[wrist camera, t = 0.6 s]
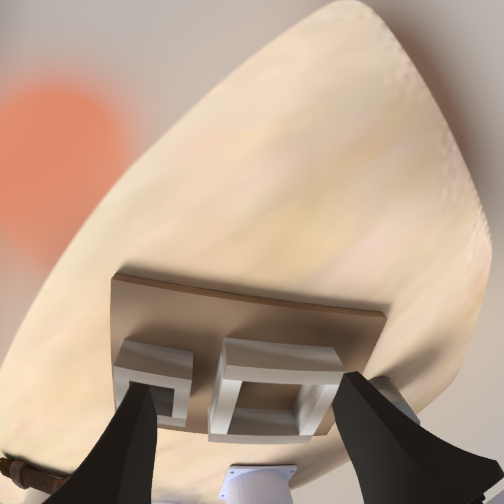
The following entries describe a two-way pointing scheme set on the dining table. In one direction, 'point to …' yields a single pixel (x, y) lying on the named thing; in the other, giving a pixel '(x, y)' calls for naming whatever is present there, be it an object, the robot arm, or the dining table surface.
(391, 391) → the gray metal cylinder
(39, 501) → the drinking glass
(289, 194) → the dining table surface
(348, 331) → the fitting board
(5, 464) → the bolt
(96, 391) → the dining table surface
